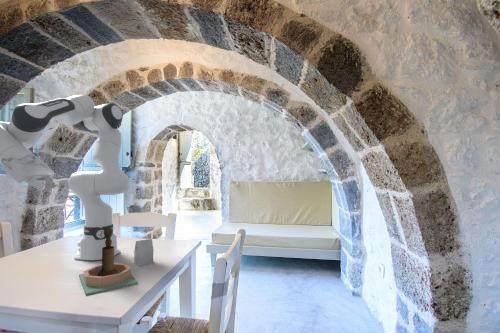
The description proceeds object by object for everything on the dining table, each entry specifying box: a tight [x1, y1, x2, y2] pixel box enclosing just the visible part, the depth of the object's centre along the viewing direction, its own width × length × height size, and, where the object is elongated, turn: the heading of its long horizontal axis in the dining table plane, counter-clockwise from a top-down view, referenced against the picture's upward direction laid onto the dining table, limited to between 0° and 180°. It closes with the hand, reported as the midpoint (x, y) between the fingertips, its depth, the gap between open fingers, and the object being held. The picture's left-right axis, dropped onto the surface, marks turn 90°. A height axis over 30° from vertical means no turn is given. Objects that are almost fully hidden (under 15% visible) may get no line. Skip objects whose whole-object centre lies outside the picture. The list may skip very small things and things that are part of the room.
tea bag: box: [133, 238, 154, 267], centre depth 122 cm, size 4×7×10 cm, turn 131°
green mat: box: [78, 272, 139, 296], centre depth 104 cm, size 20×16×1 cm
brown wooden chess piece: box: [98, 228, 118, 277], centre depth 104 cm, size 7×6×18 cm
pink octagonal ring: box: [83, 262, 132, 287], centre depth 104 cm, size 14×14×3 cm
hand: (49, 188), depth 99 cm, fingers open, 8 cm apart
